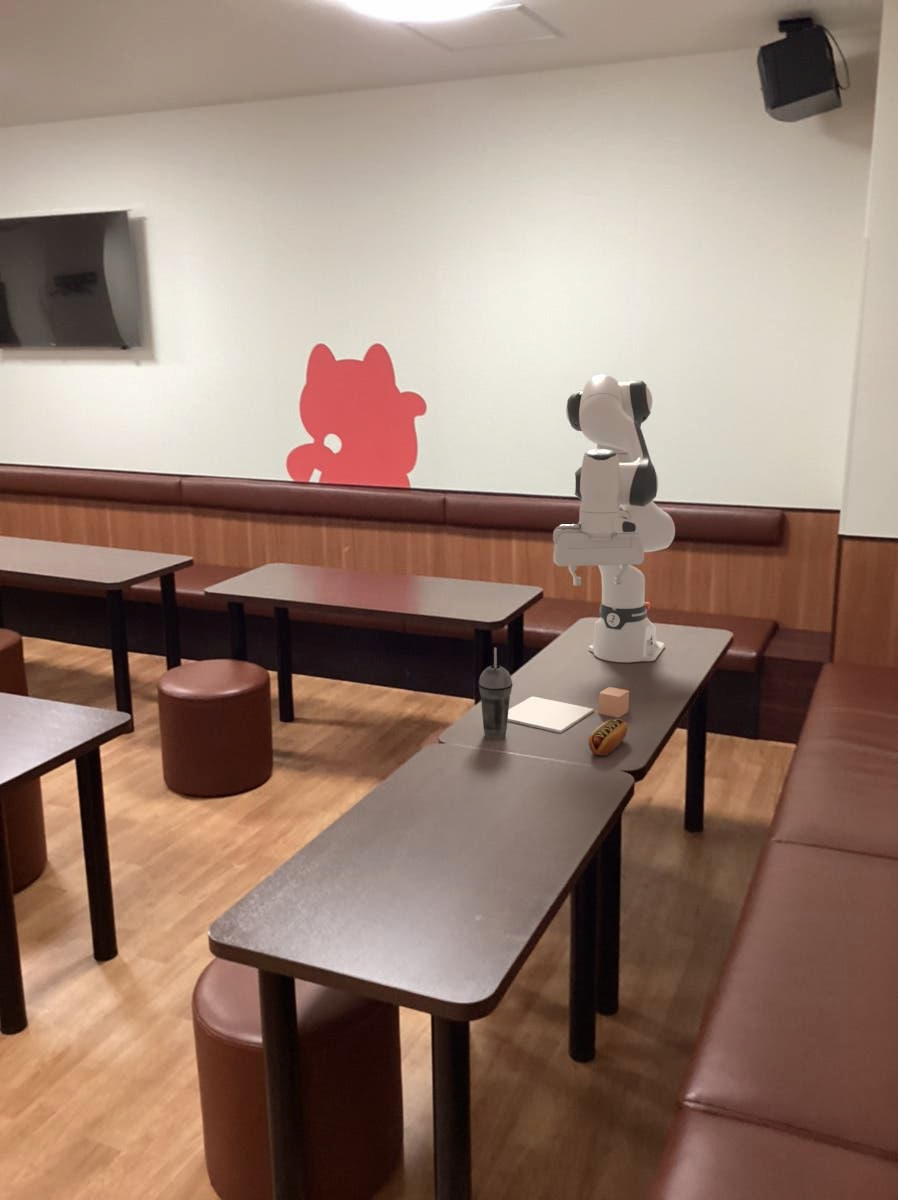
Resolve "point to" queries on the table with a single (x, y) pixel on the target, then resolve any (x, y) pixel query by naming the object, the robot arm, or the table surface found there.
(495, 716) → the beverage cup
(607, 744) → the hot dog
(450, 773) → the table surface
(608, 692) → the cube
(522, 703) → the mat
